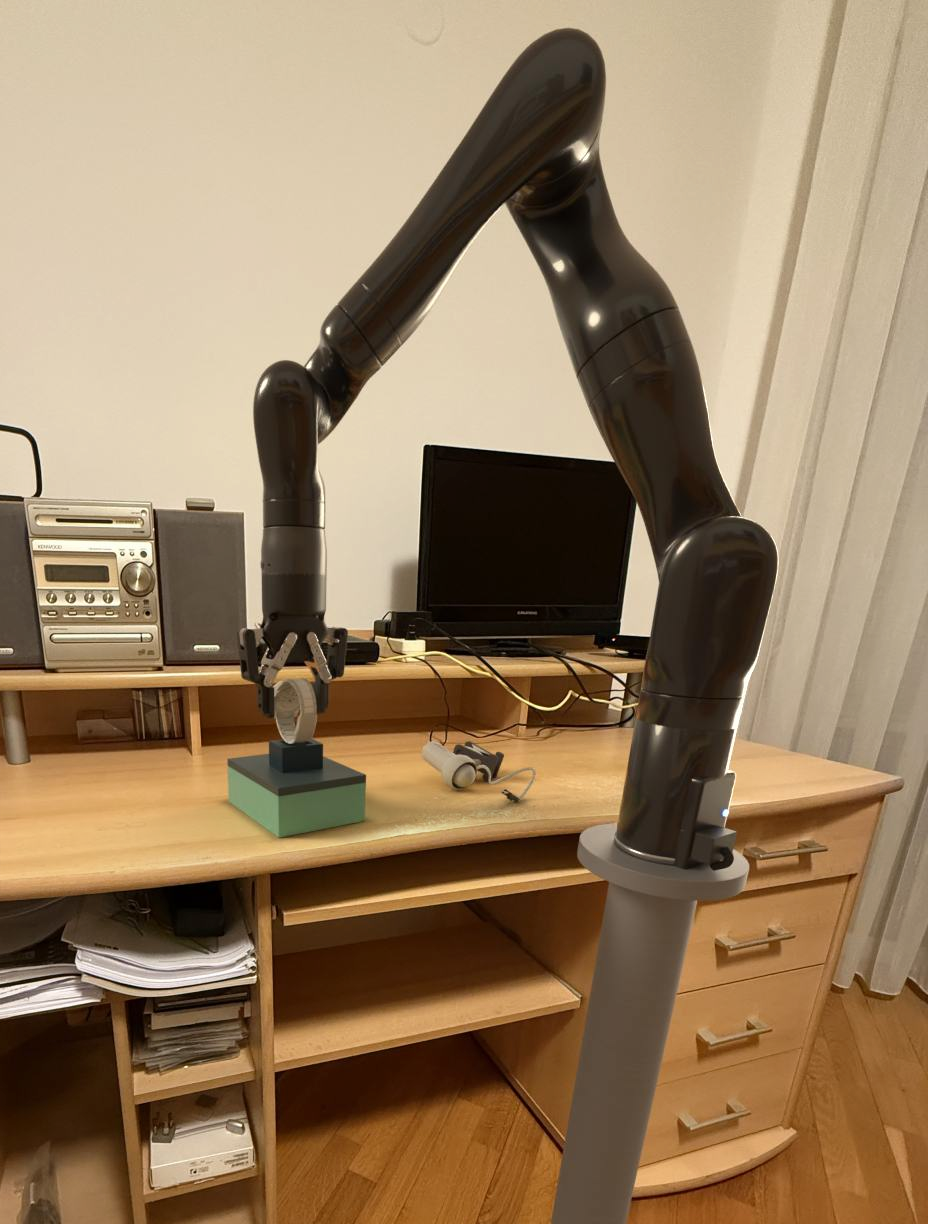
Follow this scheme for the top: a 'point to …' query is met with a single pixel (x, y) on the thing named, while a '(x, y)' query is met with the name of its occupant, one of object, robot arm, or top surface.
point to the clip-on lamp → (468, 765)
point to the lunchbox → (296, 795)
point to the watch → (297, 742)
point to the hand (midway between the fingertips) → (294, 714)
